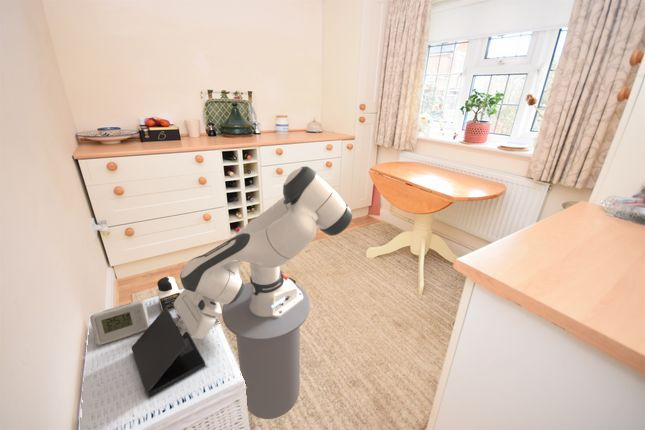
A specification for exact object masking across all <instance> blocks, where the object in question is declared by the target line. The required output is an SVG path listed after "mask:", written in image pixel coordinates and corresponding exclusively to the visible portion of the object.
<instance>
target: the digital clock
mask: <svg viewBox="0 0 645 430" xmlns="http://www.w3.org/2000/svg"><path fill="white" fill-rule="evenodd" d="M89 319H90V324H91V328H92V332H93V336H94V339H95V343H96V345H98V346H101V345H105V344H108V343H113V342H116V341H119V340H122V339H125V338H128V337H131V336H134V335H137V334H140V333H141V332H145V331H146V330H147V328H148V327H149V326H150V325H151V322H150V319H149V314H148V310H147V306H146V303H145V301H144V300H138V301H135V302H130V303H126V304H123V305H119V306H116V307H112V308H108V309H105V310H104V311H100V312H96V313H93V314H91V315H90V316H89Z"/></svg>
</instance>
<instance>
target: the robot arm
mask: <svg viewBox="0 0 645 430" xmlns="http://www.w3.org/2000/svg"><path fill="white" fill-rule="evenodd" d="M282 195H283V197H282V198H280V199H279V200H278V201H276V202H275V203H274V204H273V205H271V206H269V207H268V208H267V209H266V210H265V211H263V212H262V213H261V214H259V215H257V216H256V217H255V218H253V219H252V220H251V221H249V222H248V223H247V224H246V225H245V226H243V227H242V228H241V229H240V230H239V231H238V232H237V233H236V234H235V235H234V236H233V237H231V238H229V239H228V240H226V241H224V242H222V243H221V244H219V245H217V246H216V247H214V248H212V249H210V250H209V251H207V252H205V253H203V254H201V255H198V256H196V257H193V258H191V259H190V260H189V261H188V262H187V263H186V264H185V266H184V267H183V268H182V270H181V272H180V275H179V278H180V282H181V285H182V287H183V290H182V291H181V292H180V295H179V296H178V297H177V299H176V300H175V302H174V307H175V308H176V310H177V312H178V313H179V315H180V319H179V318H178V321H177V323H176V325H177V327H178V329H179V331H180V333H181V335H182V336H183V334H184V333H185V332H188V333H189V335H190V337H191V338H192V339H194V340H195V339H196V340H203V339H205V338H206V337H207V335H208V334H209V333H210V332H211V330H212V328H213V327H214V326H215V323H216V320H217V318H219V317H220V316H222V308H221V305H224V304H226V305H228V304H231V303H233V302H235V301H236V300H237V299H238V298H239V297H240V295H241V294H242V292H243V289H244V284H245V283H244V281H243V278H241V274H240V268H241V265H242V262H245V263H249V268H250V269H249V270H250V277H249V282H250V286H251V291H252V293H251V301H250V304H249V308H250V311H251V312H252V313H253V314H255V315H257V316H261V317H274V318H280V317H281V316H283V315H284V314H285V313H286V312H288V311H289V310H290V309H292V308H293V307H294V306H295V305H297V304H298V303H299V302H301V301H302V300H303V294H302V292H301V291H300V290H299V289H298V288H297V287H296V284H297V283H296V280H295V279H293V278H292V277H291V276H289V275H288V274H287V273H284V272H283V271H282V270H281V268H280V267H282V266H283V265H285V264H287V263H289V262H290V261H291V260H292V259H294V258H295V257H296V256H298V255H299V254H300V253H301V252H303V250H304V249H306V248H307V247H308V246H309V245H310V244H311V243H312V242H313V240H314V239H315V238H316V236H317V234H318V228H319V230H320V231H321V232H323V233H324V234H326V235H327V236H330V237H332V236H338V235H340V234H341V233H343V232H344V231H345V230H346V229H347V228H348V227H349V226H350V225H351V223H352V220H353V212H352V210H351V208H350V206H349V205H348V204H347V203H345V201H344V200H343V199H342V197H341V195H339V194H338V192H337V191H336V190H335V189H334V188H333V187H331V186H330V184H329V183H328V182H326V181H325V180H324V179H323V178H322V177H321V176H319V174H317V171H316V170H314V169H312V168H311V167H309V166H308V165H307V166H306V165H305V166H300V167H299V168H296V169H294V170H293V171H291V172H290V173H289V174H288V175H287V177H286V179H285V181H284V183H283V185H282ZM175 308H174V309H175ZM176 310H175V311H176Z"/></svg>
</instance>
